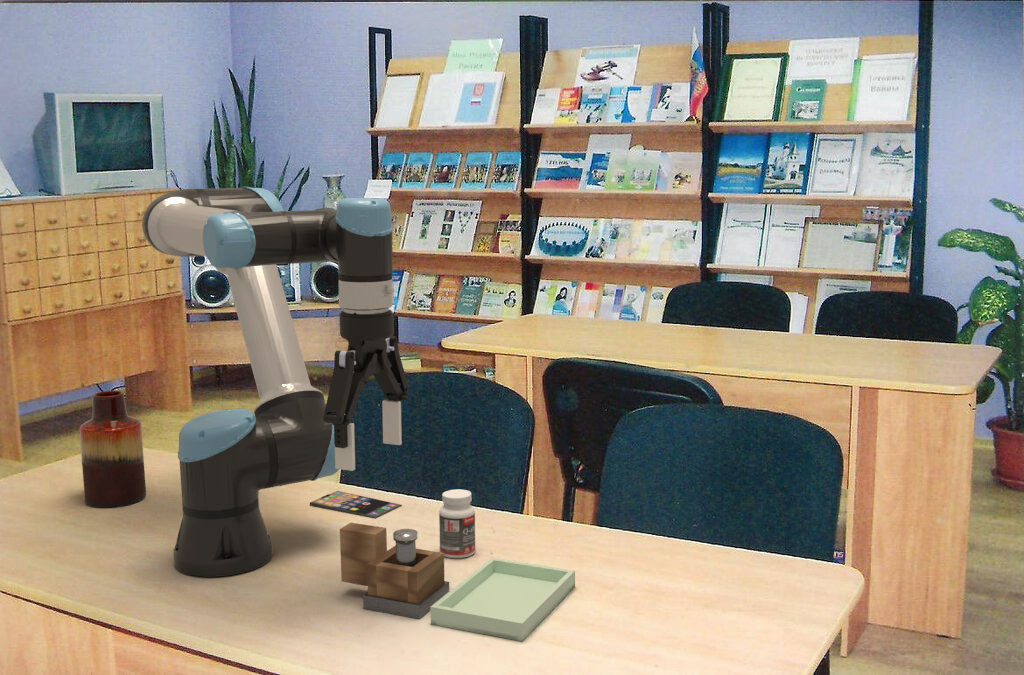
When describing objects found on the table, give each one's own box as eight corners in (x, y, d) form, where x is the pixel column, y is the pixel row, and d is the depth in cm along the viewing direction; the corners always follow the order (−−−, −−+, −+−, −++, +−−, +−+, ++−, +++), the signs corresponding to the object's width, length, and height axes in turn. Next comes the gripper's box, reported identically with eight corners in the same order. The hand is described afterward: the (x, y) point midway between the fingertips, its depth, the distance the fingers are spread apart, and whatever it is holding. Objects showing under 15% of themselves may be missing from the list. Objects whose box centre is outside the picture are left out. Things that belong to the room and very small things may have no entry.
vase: (103, 489, 206) (96, 386, 203) (156, 491, 205) (149, 387, 201) (73, 507, 195) (65, 399, 192) (128, 509, 194) (121, 400, 191)
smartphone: (375, 521, 188) (375, 514, 188) (309, 508, 195) (309, 501, 195) (402, 508, 195) (401, 501, 195) (337, 496, 202) (337, 489, 202)
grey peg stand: (363, 608, 150) (361, 538, 148) (395, 585, 158) (393, 519, 156) (419, 619, 146) (417, 547, 145) (449, 594, 155) (448, 527, 153)
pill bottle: (470, 560, 168) (469, 500, 166) (435, 558, 169) (434, 498, 167) (478, 547, 173) (478, 489, 172) (445, 545, 174) (444, 487, 173)
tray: (430, 624, 145) (430, 606, 144) (491, 573, 162) (491, 557, 162) (522, 641, 139) (522, 623, 139) (575, 586, 157) (575, 570, 157)
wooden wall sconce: (444, 582, 154) (443, 529, 153) (417, 603, 147) (416, 548, 145) (361, 568, 160) (360, 517, 158) (331, 587, 152) (329, 534, 151)
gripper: (343, 324, 136) (347, 484, 140) (430, 299, 159) (431, 436, 162) (293, 321, 139) (299, 477, 142) (385, 296, 161) (388, 431, 165)
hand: (369, 456), depth 152 cm, fingers open, 13 cm apart
